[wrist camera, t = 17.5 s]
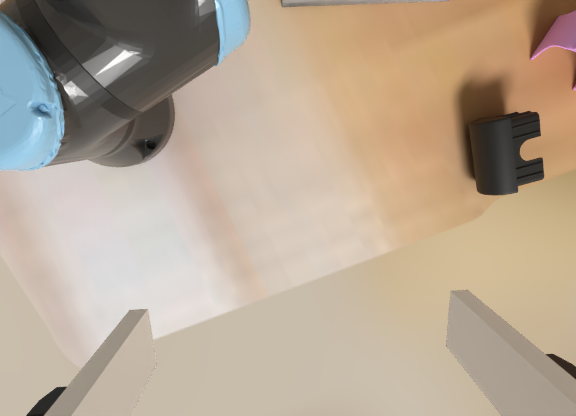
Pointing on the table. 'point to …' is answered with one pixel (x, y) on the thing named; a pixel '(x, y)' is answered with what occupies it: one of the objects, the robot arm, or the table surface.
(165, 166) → the table surface
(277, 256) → the table surface
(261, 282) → the table surface
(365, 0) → the walled bin
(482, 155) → the end cap
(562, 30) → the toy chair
